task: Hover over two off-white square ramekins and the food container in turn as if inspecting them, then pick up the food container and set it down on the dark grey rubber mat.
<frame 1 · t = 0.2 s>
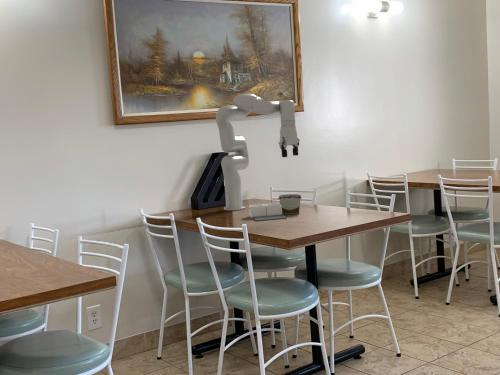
hand: (290, 156, 336), 31 cm above the table, tool pointing down, fingers open, 9 cm apart
mat: (269, 218, 329), on the table
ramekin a: (257, 216, 337), on the table
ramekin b: (273, 215, 338), on the table
food container: (290, 213, 339), on the table, touching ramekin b
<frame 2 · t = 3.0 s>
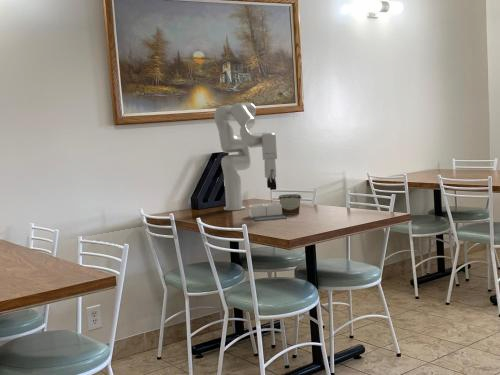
hand: (271, 188, 336), 14 cm above the table, tool pointing down, fingers open, 9 cm apart
nothing on the table moved.
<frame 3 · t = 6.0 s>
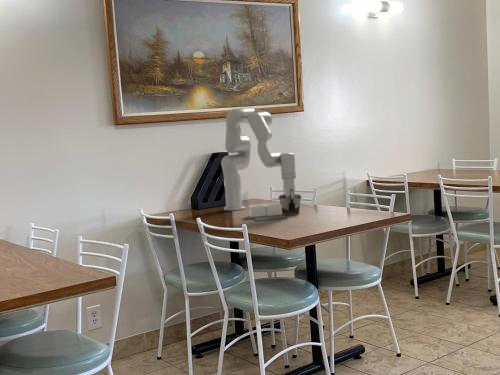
hand: (290, 209, 339), 2 cm above the table, tool pointing down, fingers open, 6 cm apart
food container: (290, 213, 340), on the table, touching gripper
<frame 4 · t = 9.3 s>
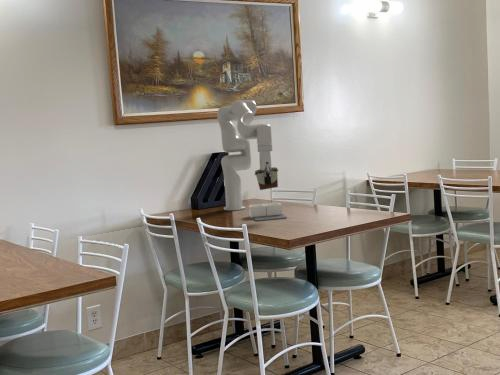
hand: (267, 183, 327), 18 cm above the table, tool pointing down, fingers closed on food container, 5 cm apart
food container: (268, 188, 328), point 16 cm above the table, touching gripper
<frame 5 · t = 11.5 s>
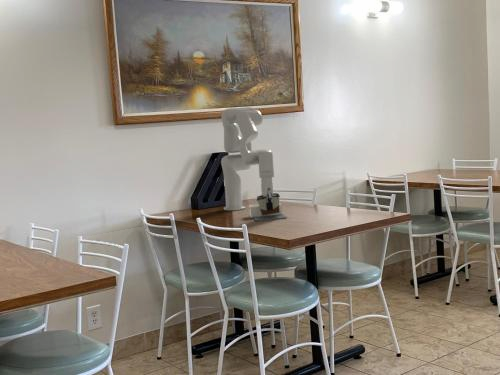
hand: (268, 209, 329), 5 cm above the table, tool pointing down, fingers closed on food container, 5 cm apart
food container: (270, 213, 330), point 2 cm above the table, touching gripper
when the fingers open (4 cm above the table, at t = 12.2 s): food container moves 1 cm, resting on mat.
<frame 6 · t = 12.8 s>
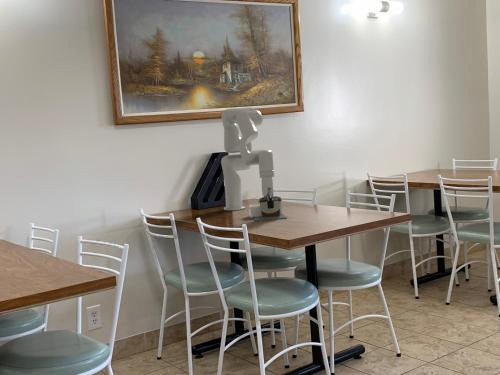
hand: (269, 207, 327), 6 cm above the table, tool pointing down, fingers open, 9 cm apart
food container: (270, 216, 330), point 1 cm above the table, touching gripper, mat
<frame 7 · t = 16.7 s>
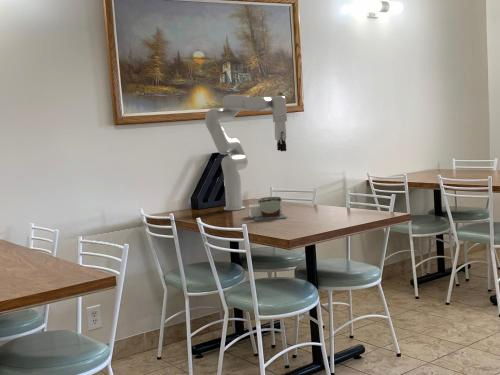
hand: (281, 150, 346), 33 cm above the table, tool pointing down, fingers open, 9 cm apart
food container: (270, 217, 330), resting on mat
at the end: food container 0.9 cm from the mat (horizontally); food container tilted 0°; the gripper is holding nothing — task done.
